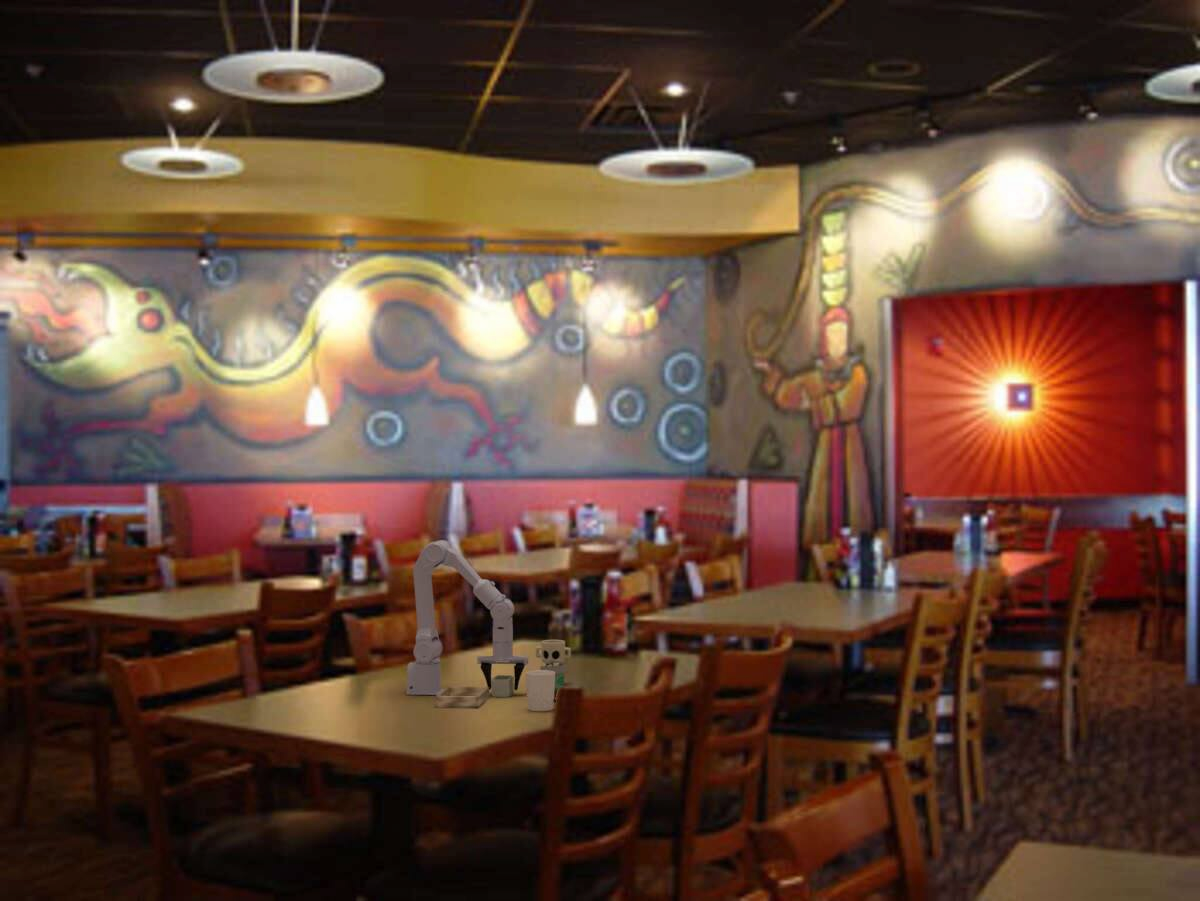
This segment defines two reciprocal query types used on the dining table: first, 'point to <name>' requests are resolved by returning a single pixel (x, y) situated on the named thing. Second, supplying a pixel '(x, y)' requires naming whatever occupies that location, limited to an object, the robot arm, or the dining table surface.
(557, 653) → the character mug
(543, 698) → the white cup
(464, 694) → the big crate
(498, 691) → the small crate
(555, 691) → the food container
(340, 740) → the dining table surface
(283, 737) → the dining table surface
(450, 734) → the dining table surface
